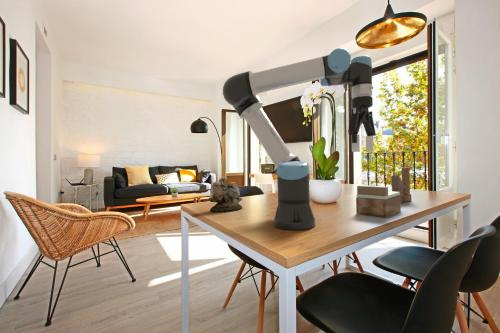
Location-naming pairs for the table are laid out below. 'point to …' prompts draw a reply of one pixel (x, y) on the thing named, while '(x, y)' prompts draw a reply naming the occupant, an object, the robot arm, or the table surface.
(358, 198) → the toolbox
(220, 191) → the owl figurine
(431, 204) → the table surface
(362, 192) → the lid
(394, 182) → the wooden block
